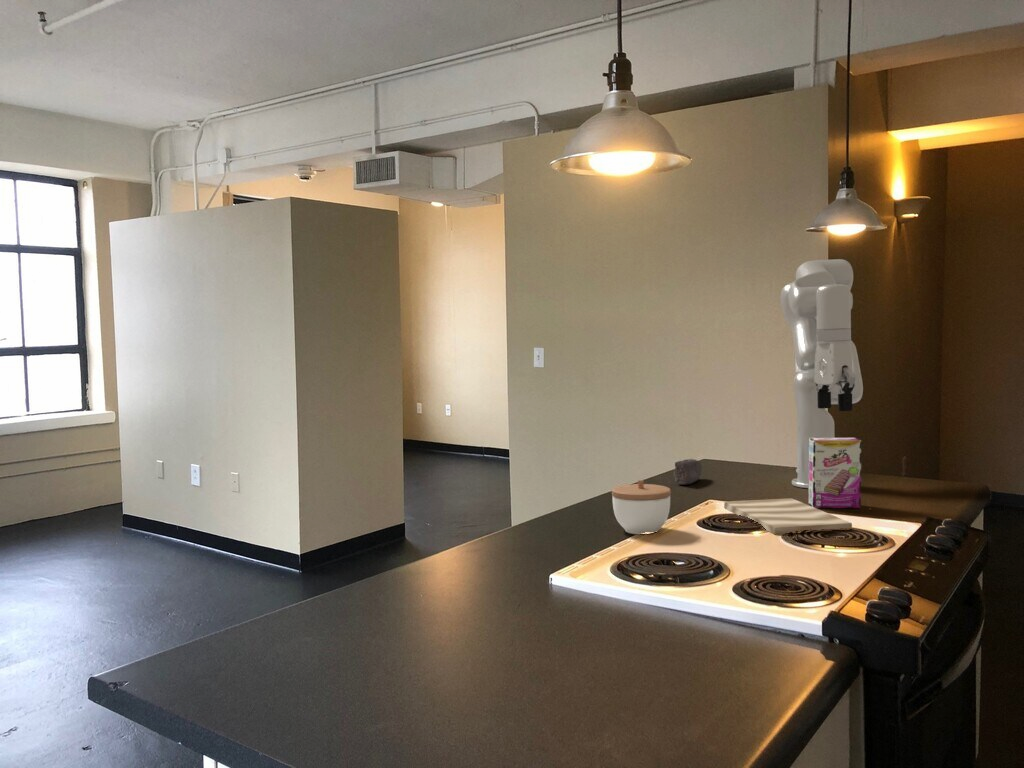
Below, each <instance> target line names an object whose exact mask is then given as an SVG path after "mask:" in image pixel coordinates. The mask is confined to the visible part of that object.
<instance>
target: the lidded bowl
mask: <svg viewBox="0 0 1024 768" xmlns="http://www.w3.org/2000/svg"><path fill="white" fill-rule="evenodd" d="M644 482H645V480H644V479H638V480H637V483H633V484H620V485H617V486H615V487H613V488H611V496H612V500H611V501H612V509H613V514H614V516H615V519H616V521H617V522H618V524H619V525H620V526H621V527H622V528H623V529H624V531H625V532H626V533H627V534H632V535H640V534H641V533H645V532H656V531H658V530H660V529H661V528H662V527H663V526H664V525H665V524H666V522H667V521H668V518H669V515H670V510H671V495H672V490H671V488H670V487H668V486H665V485H660V484H653V483H650V484H649V483H644ZM658 532H659V531H658Z"/></svg>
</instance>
